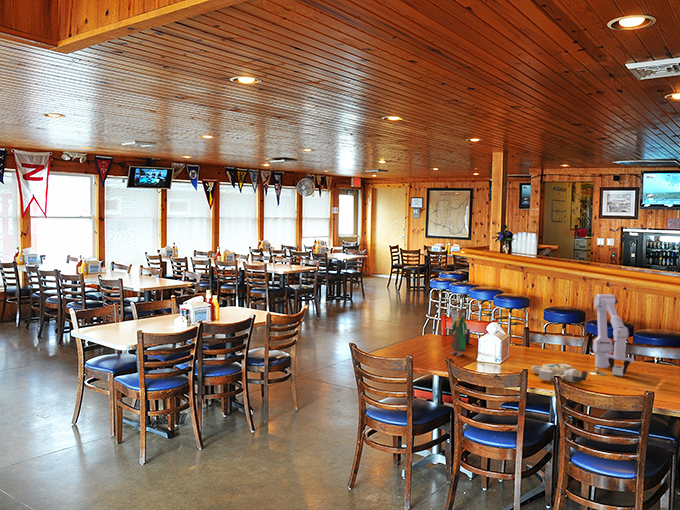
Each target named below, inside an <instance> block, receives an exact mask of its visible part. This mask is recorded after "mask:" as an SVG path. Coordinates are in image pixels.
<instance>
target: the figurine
mask: <svg viewBox="0 0 680 510" xmlns="http://www.w3.org/2000/svg"><path fill="white" fill-rule="evenodd" d="M456 311H457V317H456V321H455V322H454V324H453V323H452V325H451V326H449V329H451V332H452V333H453V332H454V331H455V333H454V338H453V339H452V344H451V349H452V350H453V351H452V352H451V355H456V357H462V355H463V354H462V353H465V352H467V347H466V345H467V344H465V339H464V333H463V323H464V328H465V337H466V334H467V329H468V326H467V323H466V319H465V320H464V318H465V317H464V318H463V317H462V316H463V314H464V313H467V311H466V309H465V308H463V307H462V308H459V309H458V310H456ZM462 312H463V313H462Z"/></svg>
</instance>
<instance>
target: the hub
mask: <svg viewBox="0 0 680 510" xmlns="http://www.w3.org/2000/svg"><path fill="white" fill-rule="evenodd" d="M600 369H601V368H600V367H595V370H590V371H588V373H589V374H590V375H592V376H597V377H598V376H599V377H604V376H607V373H606V372H603V371H600Z"/></svg>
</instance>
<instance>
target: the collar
mask: <svg viewBox="0 0 680 510" xmlns="http://www.w3.org/2000/svg"><path fill="white" fill-rule="evenodd" d="M623 371H624V365H623V366H621V365H617V364H614V366H613V367H612V372H611V374H612V375H620V376H622V377H624V376H625V375H624V374H623Z"/></svg>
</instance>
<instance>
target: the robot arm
mask: <svg viewBox="0 0 680 510" xmlns="http://www.w3.org/2000/svg"><path fill="white" fill-rule="evenodd" d="M615 304H616V297H615V295H614V294H605V293H604V294H601V293H600V294H599V293H597V294H596V295H595V297H594V308H595V309H596V317H597V320H596V321H597V337H596V338H595V339H593V340H592V341H593V343H592V351H593V352H594V354H595V358H594V359H595V361H594V365H595V368H600V369H608V368H609V367H610V372H611V373H612V367H613V366H614V365H615V361H621V362H623V367H624V371H623V374H624V375H623V376H625V375H626V373H627V369H628V367H629V365H630V364H631V363H633V364H634V363H635V358H631V357H626V349H627V339H628V338H629V335H630V332H629V328H628V327H626V326H625V325H624V322H623V320H622V318H621V316H618V313H617V309H616V305H615ZM607 313H608V315H609V317H610V319H609V321H610V324H611V327H612V329H613V331H612V335H613V341H614V345H613V341H612V340H611V339H610V338H609V337H608V323H607V322H608V321H607V320H608V319H607ZM612 353H613V354H612Z"/></svg>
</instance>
